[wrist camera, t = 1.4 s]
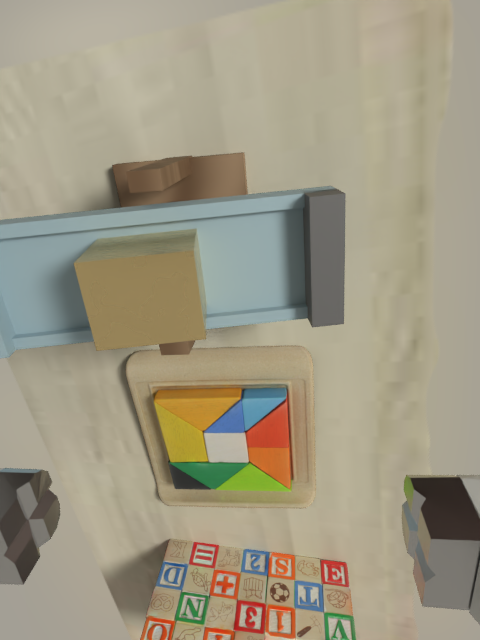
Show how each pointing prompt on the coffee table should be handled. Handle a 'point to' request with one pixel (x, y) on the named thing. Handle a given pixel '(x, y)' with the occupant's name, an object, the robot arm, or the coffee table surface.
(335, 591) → the stack of blocks
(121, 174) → the pivot stand
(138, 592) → the coffee table surface
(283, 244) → the beam
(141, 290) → the block
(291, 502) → the wooden puzzle
